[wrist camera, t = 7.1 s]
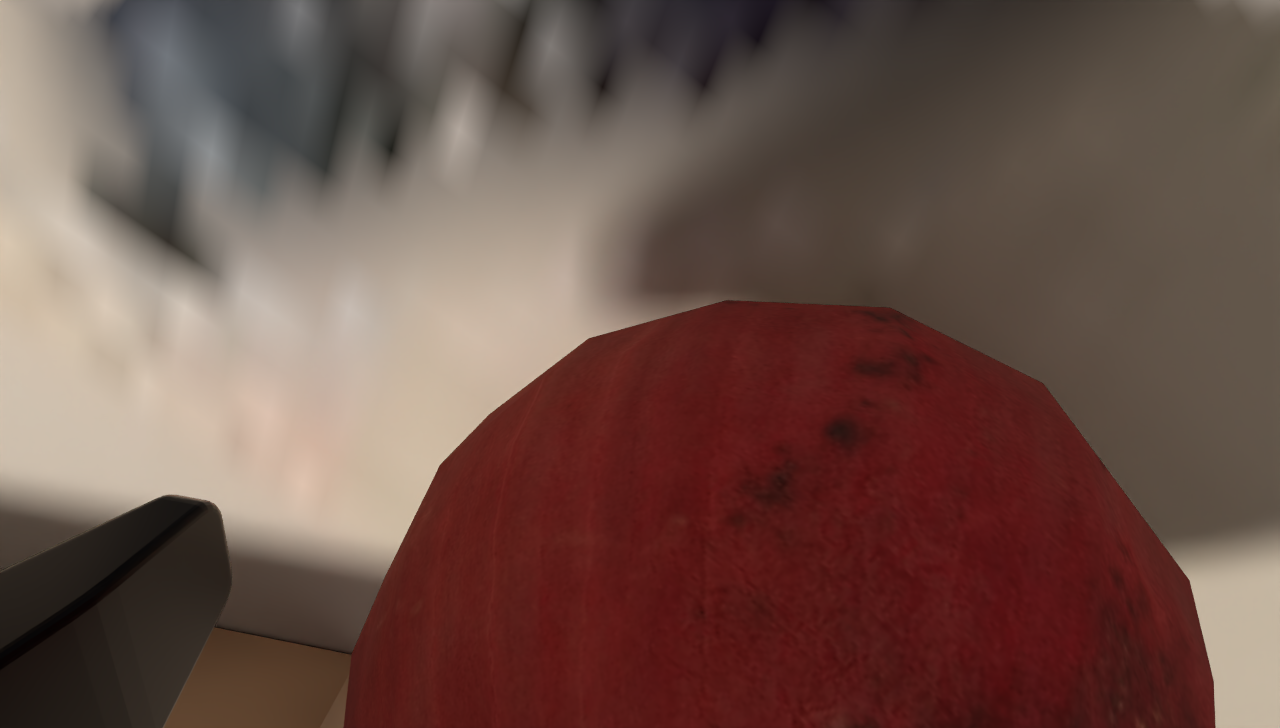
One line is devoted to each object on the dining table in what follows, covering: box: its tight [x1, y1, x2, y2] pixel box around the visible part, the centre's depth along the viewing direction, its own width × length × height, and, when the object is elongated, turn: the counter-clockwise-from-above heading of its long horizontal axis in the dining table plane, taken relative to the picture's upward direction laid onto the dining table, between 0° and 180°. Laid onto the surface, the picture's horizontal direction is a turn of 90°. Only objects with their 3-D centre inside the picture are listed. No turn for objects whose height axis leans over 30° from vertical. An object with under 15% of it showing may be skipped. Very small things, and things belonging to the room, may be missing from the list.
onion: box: [343, 300, 1215, 728], centre depth 7 cm, size 6×6×8 cm
